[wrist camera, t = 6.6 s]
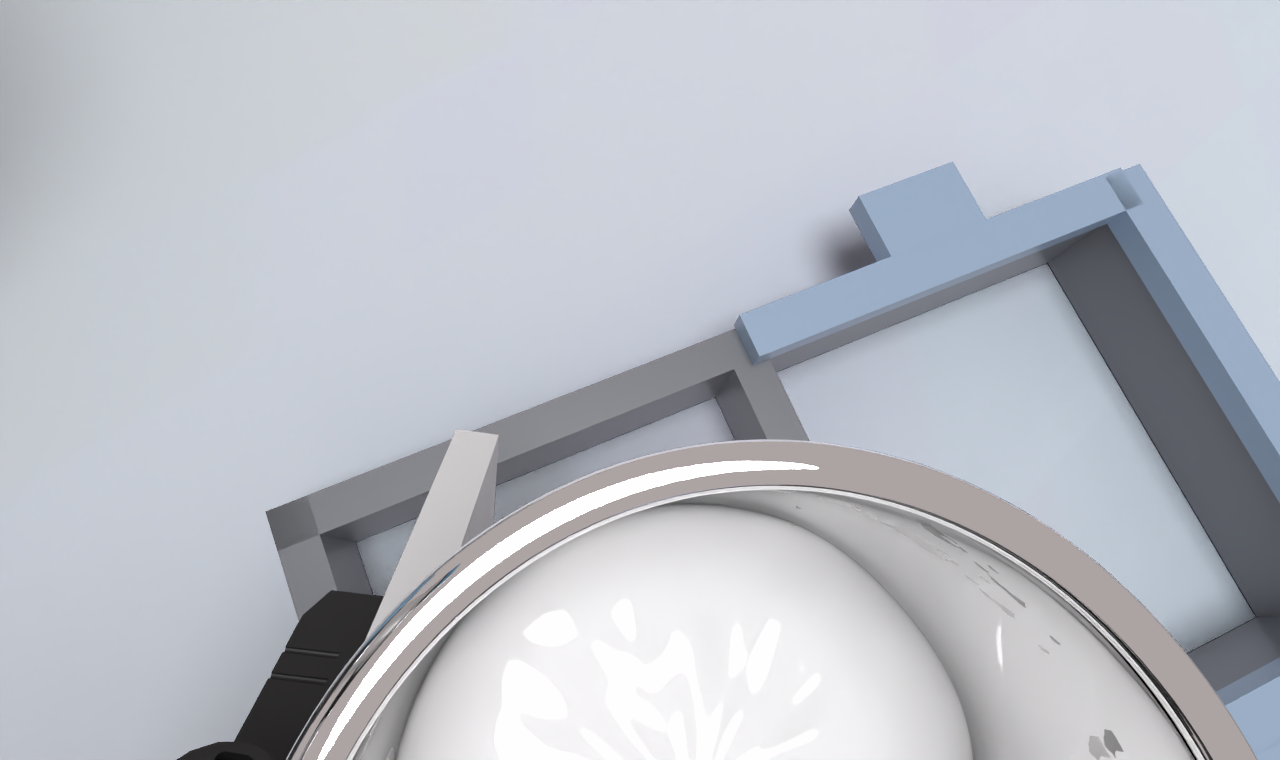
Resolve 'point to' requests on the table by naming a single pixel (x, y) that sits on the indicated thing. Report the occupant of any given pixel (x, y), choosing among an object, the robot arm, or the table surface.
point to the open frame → (896, 291)
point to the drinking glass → (770, 628)
